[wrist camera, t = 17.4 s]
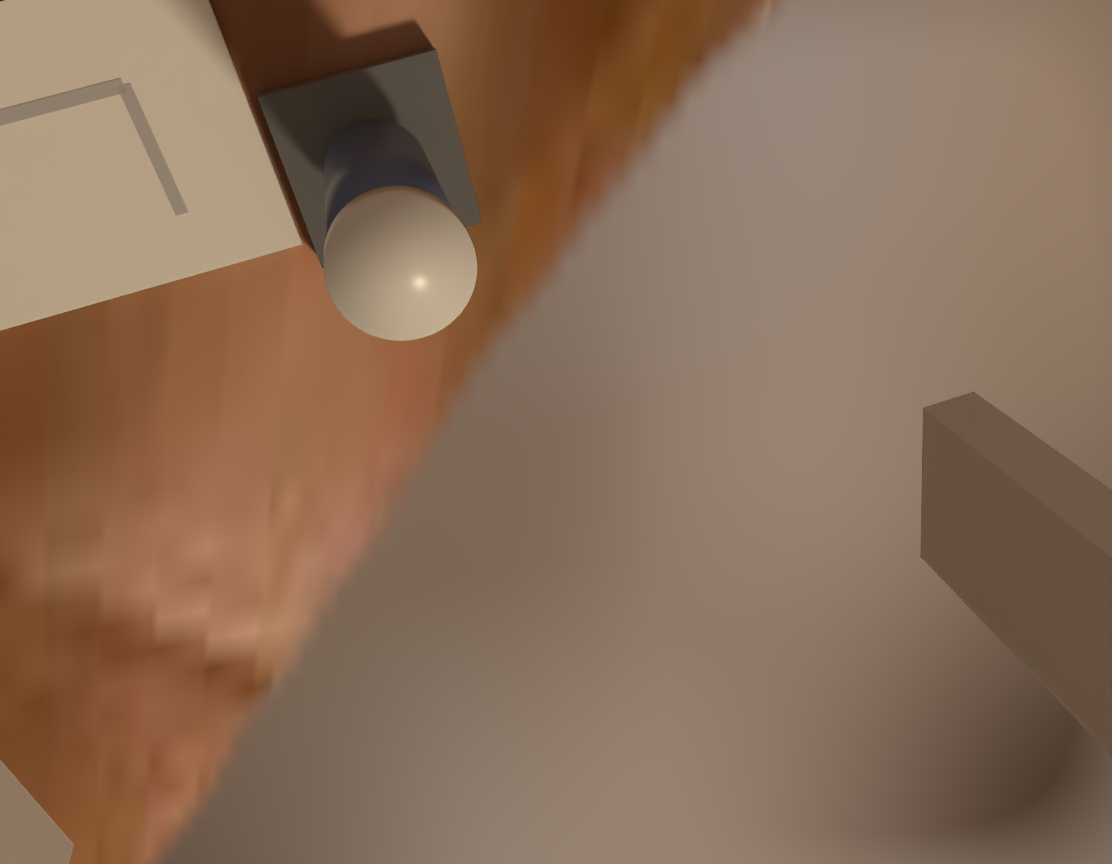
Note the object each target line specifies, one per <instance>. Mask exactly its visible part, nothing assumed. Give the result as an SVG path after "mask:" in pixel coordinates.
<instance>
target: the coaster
mask: <svg viewBox="0 0 1112 864" xmlns="http://www.w3.org/2000/svg"><path fill="white" fill-rule="evenodd" d="M258 100H259V103H260V105H261V108H262V111H263V113H264V116H265V119H266V121H267V124H268V126H269V129H270V132H271V134H272V137H273V140H274V142H275V145H276V148H277V150H278V153H279V156H280V158H281V161H282V163H283V166H284V169H285V171H286V174H287V177H288V179H289V182H290V185H291V187H292V190H293V192H294V195H295V198H296V200H297V203H298V206H299V208H300V211H301V214H302V216H303V219H304V222H305V224H306V227H307V229H308V232H309V235H310V237H311V240H312V243H313V245H314V248H315V251H316V253H317V256H318V258H319V261H320V264H321V266H322V268H324V245H325V240H326V212H325V186H324V161H325V156H326V152H327V150H328V147H329V145H330V144H331V142H332V140H333V139H334V138H335V136H336V135H337V134H338V133H339V132H340V131H341V130H342V129H344V128H345V127H347V126H348V125H350V124H352V123H354V122H357V121H360V120H365V119H384V120H388V121H391V122H394V123H396V124H398V125H400V126H402V127H404V128H405V129H407V130H408V131H409V132H410V133H411V134H412V135H413V136H414V137H415V138H416V139H417V140H418V142H419V143H420V145H421V146H422V148H423V150H424V152H425V154H426V156H427V158H428V160H429V162H430V164H431V166H432V169H433V171H434V173H435V175H436V177H437V179H438V181H439V183H440V185H441V187H442V189H443V191H444V193H445V195H446V197H447V199H448V202H449V204H450V206H451V208H452V210H453V211H454V212H455V213H456V214H457V215H458V217H459V218H460V220H461V221H462V223H463V225H464V227H467V226H471V225H474V224H478V223H481V222H482V221H481V217H480V213H479V209H478V206H477V202H476V198H475V194H474V191H473V187H472V183H471V179H470V176H469V172H468V168H467V164H466V161H465V157H464V153H463V149H462V146H461V142H460V138H459V134H458V131H457V127H456V123H455V119H454V115H453V112H452V108H451V104H450V100H449V97H448V93H447V89H446V85H445V82H444V78H443V74H442V70H441V67H440V63H439V59H438V55H437V52H436V49H435V48H434V47H430V48H427V49H423V50H419V51H415V52H412V53H408V54H404V55H401V56H397V57H393V58H389V59H386V60H382V61H378V62H374V63H371V64H367V65H363V66H360V67H356V68H352V69H348V70H345V71H341V72H337V73H333V74H330V75H326V76H322V77H319V78H315V79H311V80H307V81H304V82H300V83H296V84H293V85H289V86H285V87H281V88H278V89H274V90H270V91H266V92H263V93H259V95H258Z"/></svg>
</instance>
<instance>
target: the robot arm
mask: <svg viewBox="0 0 1112 864" xmlns="http://www.w3.org/2000/svg"><path fill="white" fill-rule="evenodd" d="M921 507H922V508H921V558H922V559H923V560H924V561H925V562H926V563H927V564H928V565H929V566H930V567H931V568H932V569H933V570H934V571H935V572H936V573H937V574H938V575H939V576H940V577H941V579H942V580H943V581H944V582H945V583H946V584H947V585H948V586H949V587H950V588H951V589H952V590H953V591H954V592H955V593H956V594H957V595H958V596H959V597H960V598H961V599H962V600H963V601H964V603H965V604H967V606H968V607H969V608H970V609H971V610H972V611H973V612H974V613H975V614H976V615H977V616H978V617H979V618H980V619H981V620H982V621H983V622H984V623H985V624H986V625H987V626H988V627H989V629H990V630H991V631H992V632H993V633H994V634H995V635H996V636H997V637H998V638H999V639H1000V640H1001V641H1002V642H1003V643H1004V644H1005V645H1006V646H1007V647H1008V648H1009V649H1010V650H1011V651H1012V653H1013V654H1014V655H1015V656H1016V657H1017V658H1018V659H1019V660H1020V661H1021V662H1022V663H1023V664H1024V665H1025V666H1026V667H1027V668H1028V669H1029V670H1030V671H1031V672H1032V673H1033V674H1034V675H1035V676H1036V678H1037V679H1039V681H1040V682H1041V683H1042V684H1043V685H1044V686H1045V687H1046V688H1047V689H1048V690H1049V691H1050V692H1051V693H1052V694H1053V695H1054V696H1055V697H1056V698H1057V699H1058V701H1059V702H1060V703H1061V704H1062V705H1063V706H1064V707H1065V708H1066V709H1067V710H1068V711H1069V712H1070V713H1071V714H1072V715H1073V716H1074V717H1075V718H1076V719H1077V720H1078V721H1079V722H1080V723H1081V724H1082V726H1084V727H1085V729H1086V730H1087V731H1088V732H1089V733H1090V734H1091V735H1092V736H1093V737H1094V738H1095V739H1096V740H1097V741H1098V742H1099V743H1100V744H1101V745H1102V746H1103V747H1104V749H1106V751H1107V752H1108V753H1109V754H1111V756H1112V490H1111V489H1110V488H1109V487H1107V486H1106V485H1104V484H1103V483H1102V482H1100V481H1099V480H1097V479H1096V478H1094V477H1093V476H1092V475H1090V474H1089V473H1087V472H1086V471H1084V470H1083V469H1082V468H1080V467H1079V466H1078V465H1076V464H1075V463H1073V462H1072V461H1071V460H1069V459H1068V458H1066V457H1065V456H1063V455H1062V454H1061V453H1059V452H1058V451H1056V450H1055V449H1054V448H1052V447H1051V446H1049V445H1048V444H1046V443H1045V442H1044V441H1042V440H1041V439H1039V438H1038V437H1037V436H1035V435H1034V434H1032V433H1031V432H1030V431H1028V430H1027V429H1025V428H1024V427H1023V426H1021V425H1020V424H1018V423H1017V422H1015V421H1014V420H1013V419H1011V418H1010V417H1008V416H1007V415H1005V414H1004V413H1002V412H1001V411H1000V410H999V409H997V408H996V407H994V406H993V405H992V404H990V403H989V402H987V401H986V400H984V399H983V398H982V397H980V396H979V395H977V394H976V393H975V392H971V393H968V394H965V395H962V396H959V397H955V398H952V399H949V400H946V401H943V402H940V403H937V404H934V405H931V406H928V407H925V408H923V446H922V504H921ZM73 846H74V844H73V843H72V842H71V841H70V839H69V838H68V837H67V836H66V835H65V834H64V833H63V831H62V830H61V829H60V828H59V827H58V826H57V824H56V823H55V822H54V821H53V820H52V819H51V818H50V816H49V815H48V814H47V813H46V812H45V811H44V810H43V808H42V807H41V806H40V805H39V804H38V803H37V802H36V800H35V799H34V798H33V797H32V796H31V795H30V794H29V792H28V791H27V790H26V789H25V788H24V787H23V785H22V784H21V783H20V782H19V781H18V780H17V779H16V777H15V776H14V775H13V774H12V773H11V772H10V771H9V769H8V768H7V767H6V766H5V765H4V764H3V763H2V761H1V760H0V864H69V861H70V858H71V854H72V850H73Z"/></svg>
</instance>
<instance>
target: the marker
mask: <svg viewBox="0 0 1112 864" xmlns="http://www.w3.org/2000/svg"><path fill="white" fill-rule="evenodd" d="M324 186H325V212H326V240H325V245H324V276H325V282H326V286H327V289H328V292H329V295H330V297H331V299H332V301H333V303H334V304H335V306H336V307H337V309H338V310H339V311H340V313H341V314H342V315H343V316H344V317H345V318H346V319H347V320H348V321H349V322H350V323H351V324H353V325H354V326H356V327H357V328H358V329H360V330H362V331H364V332H366V333H368V334H370V335H373V336H375V337H379V338H383V339H388V340H399V341H405V340H414V339H419V338H423V337H426V336H429V335H432V334H434V333H436V332H438V331H440V330H442V329H443V328H444V327H446V326H447V325H449V324H450V323H451V322H452V321H453V320H455V319H456V318H457V317H458V315H459V314H460V313H461V312H462V311H463V309H464V308H465V306H466V305H467V303H468V301H469V299H470V297H471V296H472V293H473V290H474V287H475V282H476V277H477V259H476V254H475V249H474V247H473V244H472V241H471V239H470V237H469V235H468V233H467V231H466V229H465V227H464V225H463V223H462V221H461V220H460V218H459V217H458V215H457V214H456V213H455V212H454V211H453V210H452V208H451V206H450V204H449V202H448V199H447V197H446V195H445V193H444V191H443V189H442V187H441V185H440V183H439V181H438V179H437V177H436V175H435V173H434V171H433V169H432V166H431V164H430V162H429V160H428V158H427V156H426V154H425V152H424V150H423V148H422V146H421V145H420V143H419V142H418V140H417V139H416V138H415V137H414V136H413V135H412V134H411V133H410V132H409V131H408V130H407V129H405V128H404V127H402V126H400V125H398V124H396V123H394V122H391V121H388V120H384V119H365V120H360V121H357V122H354V123H352V124H350V125H348V126H347V127H345V128H344V129H342V130H341V131H340V132H339V133H338V134H337V135H336V136H335V138H334V139H333V140H332V142H331V144H330V145H329V147H328V150H327V152H326V156H325V161H324Z"/></svg>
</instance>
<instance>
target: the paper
mask: <svg viewBox="0 0 1112 864" xmlns="http://www.w3.org/2000/svg"><path fill="white" fill-rule="evenodd" d="M301 244H302V240H301V237H300V235H299V232H298V230H297V227H296V224H295V222H294V219H293V217H292V214H291V211H290V209H289V206H288V204H287V201H286V198H285V196H284V193H283V191H282V188H281V185H280V183H279V180H278V178H277V175H276V172H275V170H274V167H273V165H272V162H271V160H270V157H269V154H268V152H267V149H266V147H265V144H264V141H263V139H262V136H261V134H260V131H259V128H258V126H257V123H256V121H255V118H254V115H253V113H252V110H251V108H250V105H249V102H248V100H247V97H246V95H245V92H244V89H243V87H242V84H241V82H240V79H239V76H238V74H237V71H236V69H235V66H234V63H233V61H232V58H231V56H230V53H229V51H228V48H227V45H226V43H225V40H224V38H223V35H222V32H221V30H220V27H219V25H218V22H217V19H216V17H215V14H214V12H213V9H212V6H211V4H210V1H209V0H4V1H0V330H4V329H7V328H11V327H14V326H18V325H21V324H25V323H28V322H32V321H35V320H39V319H42V318H46V317H49V316H53V315H56V314H60V313H63V312H67V311H70V310H74V309H77V308H81V307H84V306H88V305H91V304H95V303H98V302H102V301H105V300H109V299H112V298H116V297H119V296H123V295H126V294H130V293H133V292H137V291H140V290H144V289H147V288H151V287H154V286H158V285H161V284H165V283H168V282H172V281H175V280H179V279H182V278H186V277H189V276H193V275H196V274H200V273H203V272H207V271H210V270H214V269H217V268H221V267H224V266H228V265H231V264H235V263H238V262H242V261H245V260H249V259H252V258H256V257H259V256H263V255H266V254H270V253H273V252H277V251H280V250H284V249H287V248H291V247H294V246H298V245H301Z"/></svg>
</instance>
